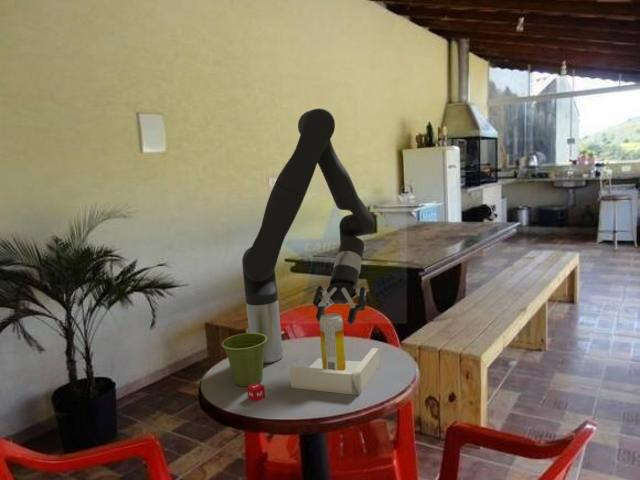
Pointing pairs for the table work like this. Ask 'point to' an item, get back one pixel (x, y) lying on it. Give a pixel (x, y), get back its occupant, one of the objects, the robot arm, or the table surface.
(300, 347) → the table surface
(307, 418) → the table surface
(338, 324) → the beer can
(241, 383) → the plant pot
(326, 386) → the white corner tray
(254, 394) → the dice
